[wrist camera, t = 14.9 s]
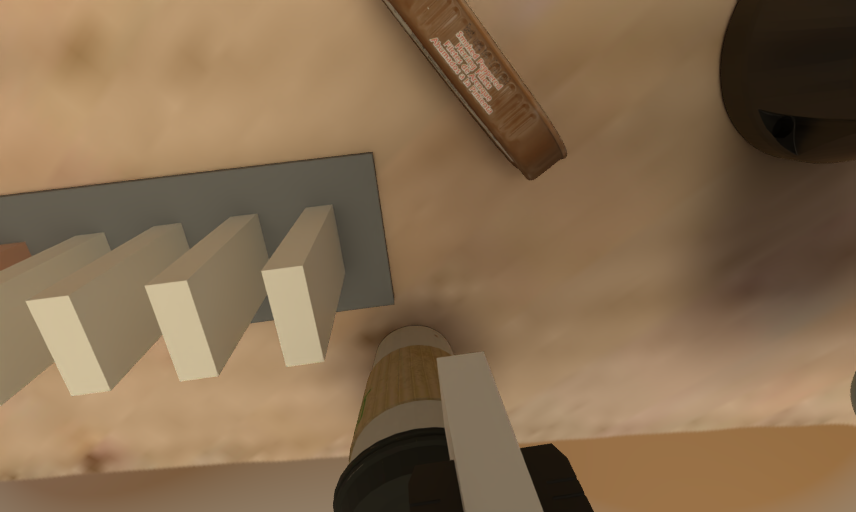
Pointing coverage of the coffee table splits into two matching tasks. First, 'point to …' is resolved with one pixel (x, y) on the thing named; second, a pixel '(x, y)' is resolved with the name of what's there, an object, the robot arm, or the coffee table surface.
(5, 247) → the domino
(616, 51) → the coffee table surface
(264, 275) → the domino
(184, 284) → the domino
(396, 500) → the coffee cup
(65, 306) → the domino
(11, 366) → the domino
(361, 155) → the mat
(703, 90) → the coffee table surface
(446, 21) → the tin
